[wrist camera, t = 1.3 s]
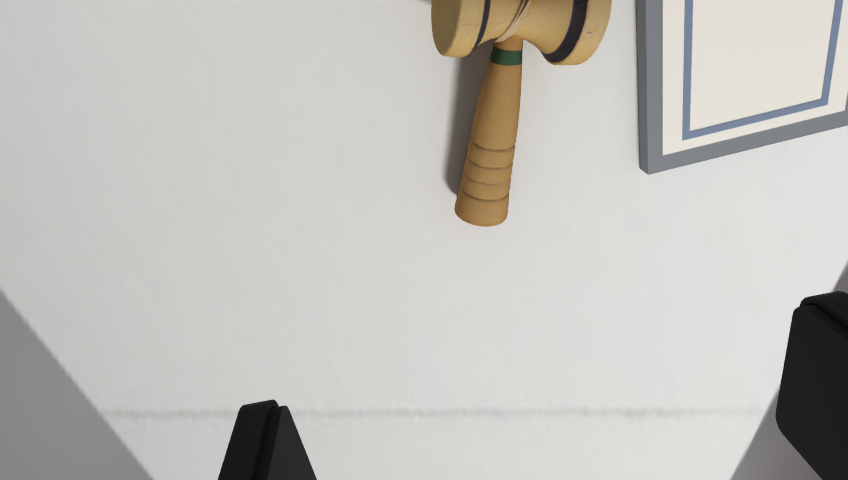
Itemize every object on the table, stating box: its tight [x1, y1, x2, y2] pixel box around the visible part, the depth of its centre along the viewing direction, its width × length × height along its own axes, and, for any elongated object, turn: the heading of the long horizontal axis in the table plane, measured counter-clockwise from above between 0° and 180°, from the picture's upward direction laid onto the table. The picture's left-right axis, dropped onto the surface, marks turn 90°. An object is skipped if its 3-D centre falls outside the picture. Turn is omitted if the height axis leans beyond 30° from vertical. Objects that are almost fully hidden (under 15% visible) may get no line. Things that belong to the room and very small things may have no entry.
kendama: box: [431, 0, 612, 227], centre depth 25 cm, size 8×6×18 cm
